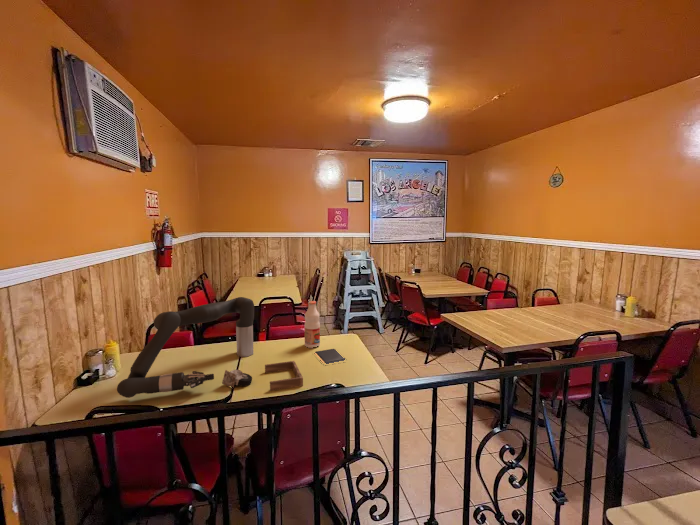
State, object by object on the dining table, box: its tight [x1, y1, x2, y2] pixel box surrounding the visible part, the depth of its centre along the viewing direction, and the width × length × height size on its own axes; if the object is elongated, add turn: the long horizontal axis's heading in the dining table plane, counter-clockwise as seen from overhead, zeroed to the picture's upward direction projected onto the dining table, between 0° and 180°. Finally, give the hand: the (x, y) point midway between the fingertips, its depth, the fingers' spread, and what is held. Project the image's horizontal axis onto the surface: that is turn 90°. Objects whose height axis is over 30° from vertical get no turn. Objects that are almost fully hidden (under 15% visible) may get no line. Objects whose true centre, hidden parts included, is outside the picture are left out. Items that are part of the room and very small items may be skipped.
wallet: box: [314, 348, 346, 364], centre depth 196 cm, size 20×2×15 cm
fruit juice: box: [304, 300, 321, 349], centre depth 211 cm, size 9×9×28 cm
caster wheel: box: [221, 369, 253, 389], centre depth 164 cm, size 7×11×10 cm
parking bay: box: [264, 360, 304, 392], centre depth 169 cm, size 20×15×4 cm
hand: (213, 376), depth 157 cm, fingers closed
